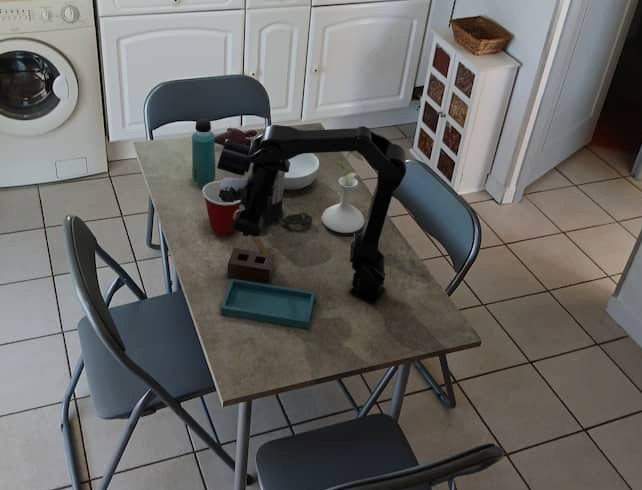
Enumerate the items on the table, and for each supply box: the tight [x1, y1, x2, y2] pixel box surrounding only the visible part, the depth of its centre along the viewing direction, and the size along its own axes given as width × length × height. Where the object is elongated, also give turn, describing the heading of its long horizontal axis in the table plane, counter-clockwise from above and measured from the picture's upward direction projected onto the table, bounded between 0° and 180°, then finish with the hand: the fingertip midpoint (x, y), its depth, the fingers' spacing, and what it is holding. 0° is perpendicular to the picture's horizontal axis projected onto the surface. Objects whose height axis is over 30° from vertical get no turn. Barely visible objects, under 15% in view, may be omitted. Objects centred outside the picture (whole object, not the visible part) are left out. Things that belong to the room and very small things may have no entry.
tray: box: [220, 278, 316, 330], centre depth 171 cm, size 20×10×2 cm, turn 82°
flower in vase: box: [321, 151, 365, 234], centre depth 193 cm, size 13×11×25 cm
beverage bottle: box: [191, 118, 217, 186], centre depth 203 cm, size 6×7×20 cm
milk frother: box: [250, 163, 313, 226], centre depth 195 cm, size 14×16×15 cm
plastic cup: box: [201, 180, 241, 236], centre depth 190 cm, size 11×11×12 cm
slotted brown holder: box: [227, 247, 276, 285], centre depth 179 cm, size 10×6×4 cm, turn 82°
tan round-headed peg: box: [233, 208, 271, 258], centre depth 171 cm, size 3×2×14 cm
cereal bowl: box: [283, 153, 320, 191], centre depth 211 cm, size 17×17×7 cm
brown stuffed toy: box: [215, 127, 258, 147], centre depth 224 cm, size 7×7×15 cm
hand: (245, 233), depth 171 cm, fingers closed on tan round-headed peg, 1 cm apart
